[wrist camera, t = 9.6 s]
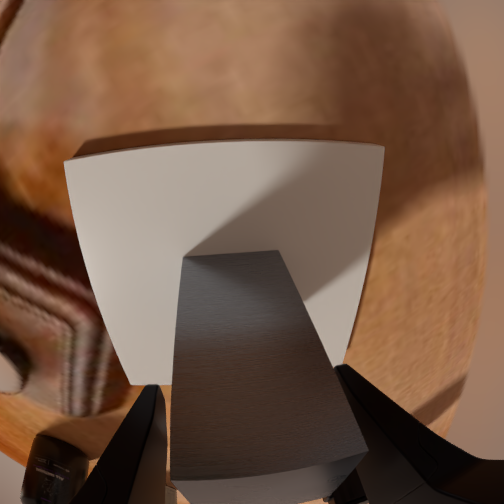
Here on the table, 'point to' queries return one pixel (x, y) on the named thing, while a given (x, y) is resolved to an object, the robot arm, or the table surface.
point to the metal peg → (254, 389)
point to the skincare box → (170, 495)
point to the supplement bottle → (53, 472)
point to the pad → (222, 230)
